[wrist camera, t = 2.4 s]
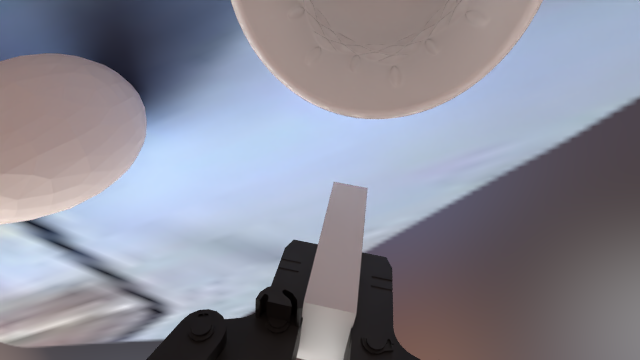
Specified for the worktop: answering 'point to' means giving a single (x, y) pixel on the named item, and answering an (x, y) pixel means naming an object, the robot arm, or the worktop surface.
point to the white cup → (382, 49)
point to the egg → (63, 132)
